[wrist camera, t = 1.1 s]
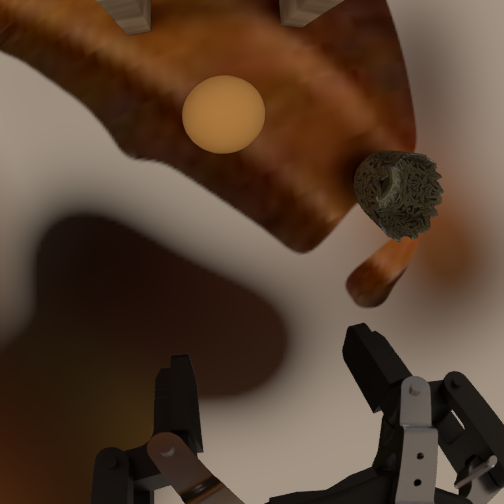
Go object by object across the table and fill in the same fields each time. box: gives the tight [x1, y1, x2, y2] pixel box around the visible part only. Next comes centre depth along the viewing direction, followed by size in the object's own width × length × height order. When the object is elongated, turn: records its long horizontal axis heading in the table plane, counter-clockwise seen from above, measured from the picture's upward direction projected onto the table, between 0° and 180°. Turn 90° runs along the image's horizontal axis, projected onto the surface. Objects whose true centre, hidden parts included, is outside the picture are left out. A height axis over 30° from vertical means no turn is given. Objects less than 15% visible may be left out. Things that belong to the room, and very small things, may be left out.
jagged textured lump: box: [352, 151, 444, 242], centre depth 23 cm, size 8×7×8 cm
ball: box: [182, 75, 265, 154], centre depth 19 cm, size 6×6×6 cm
